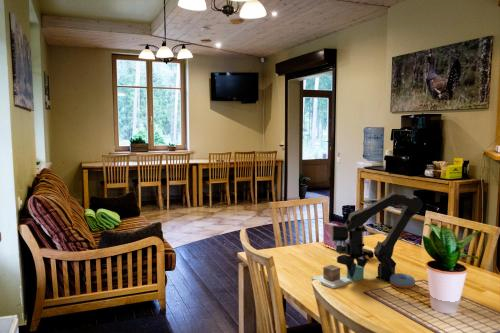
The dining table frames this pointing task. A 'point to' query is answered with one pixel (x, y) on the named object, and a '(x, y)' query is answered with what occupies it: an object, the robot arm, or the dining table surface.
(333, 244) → the gum box
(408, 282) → the doughnut
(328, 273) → the walnut block
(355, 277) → the teal block
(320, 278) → the white square plate
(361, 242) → the robot arm
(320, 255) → the dining table surface
